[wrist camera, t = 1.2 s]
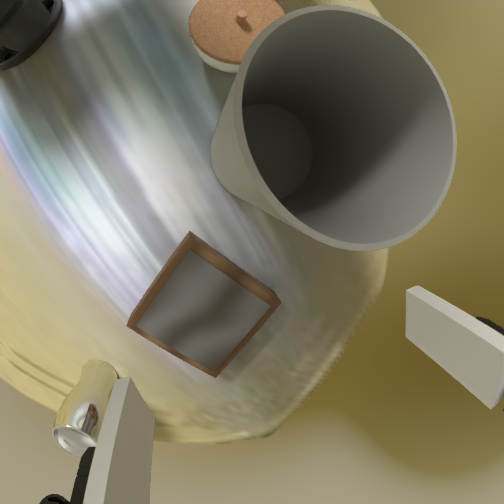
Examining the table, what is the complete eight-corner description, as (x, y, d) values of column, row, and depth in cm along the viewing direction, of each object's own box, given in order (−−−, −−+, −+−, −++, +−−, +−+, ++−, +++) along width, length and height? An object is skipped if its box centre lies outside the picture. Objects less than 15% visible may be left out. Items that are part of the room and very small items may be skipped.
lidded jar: (275, 23, 31) (296, -11, 22) (268, 89, 34) (290, 64, 25) (197, 13, 29) (198, -26, 20) (183, 79, 32) (180, 50, 23)
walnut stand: (131, 313, 38) (125, 327, 34) (189, 230, 37) (188, 237, 33) (213, 363, 42) (215, 379, 38) (274, 292, 41) (282, 303, 37)
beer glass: (74, 357, 38) (40, 421, 23) (113, 355, 39) (88, 426, 25) (89, 391, 40) (65, 457, 25) (126, 390, 41) (110, 461, 26)
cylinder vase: (212, 102, 33) (241, -16, 9) (309, 111, 35) (448, 48, 11) (208, 201, 36) (227, 251, 12) (305, 204, 38) (448, 250, 14)
